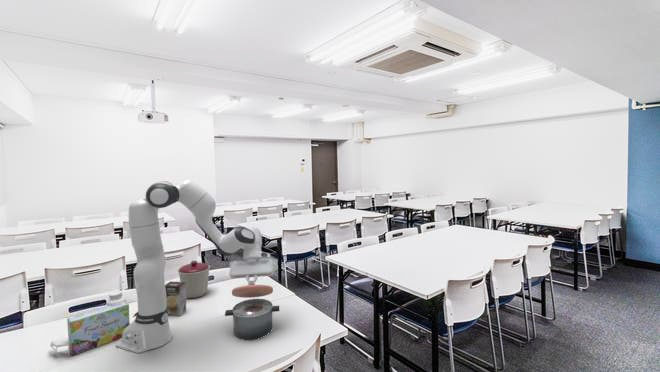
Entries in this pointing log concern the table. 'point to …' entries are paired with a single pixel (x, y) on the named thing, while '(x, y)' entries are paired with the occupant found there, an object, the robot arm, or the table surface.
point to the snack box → (97, 327)
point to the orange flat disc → (252, 291)
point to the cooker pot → (252, 318)
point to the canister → (195, 278)
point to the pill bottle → (115, 298)
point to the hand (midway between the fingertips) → (251, 285)
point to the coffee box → (176, 298)
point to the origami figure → (60, 344)
